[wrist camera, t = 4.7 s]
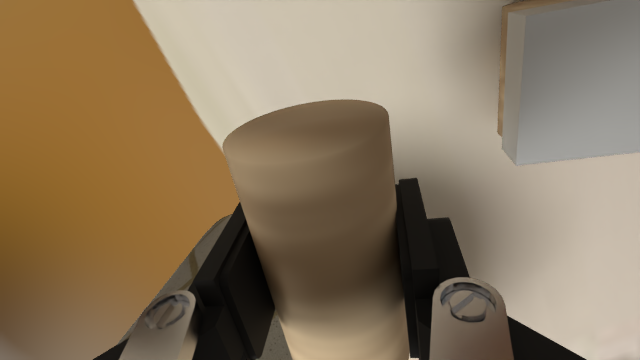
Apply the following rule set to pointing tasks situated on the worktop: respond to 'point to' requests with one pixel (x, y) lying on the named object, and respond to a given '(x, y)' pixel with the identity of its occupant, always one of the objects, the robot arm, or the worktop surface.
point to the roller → (325, 226)
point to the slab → (572, 81)
